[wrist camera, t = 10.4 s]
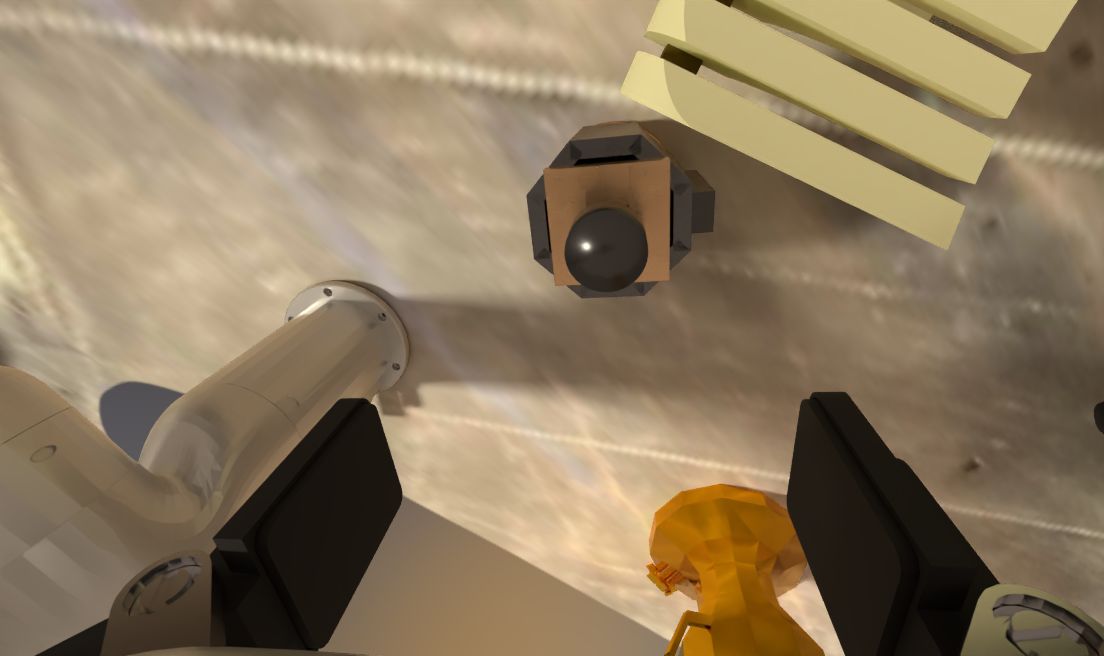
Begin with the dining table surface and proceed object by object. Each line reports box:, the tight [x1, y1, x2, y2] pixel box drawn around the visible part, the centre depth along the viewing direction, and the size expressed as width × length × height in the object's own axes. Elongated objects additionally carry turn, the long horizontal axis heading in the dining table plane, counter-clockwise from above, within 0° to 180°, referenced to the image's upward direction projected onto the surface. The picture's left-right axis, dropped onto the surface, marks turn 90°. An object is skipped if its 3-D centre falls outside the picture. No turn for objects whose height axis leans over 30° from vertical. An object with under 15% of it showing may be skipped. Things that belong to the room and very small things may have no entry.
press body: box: [527, 122, 715, 298], centre depth 33 cm, size 10×11×13 cm
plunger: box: [564, 154, 648, 292], centre depth 30 cm, size 6×6×15 cm
